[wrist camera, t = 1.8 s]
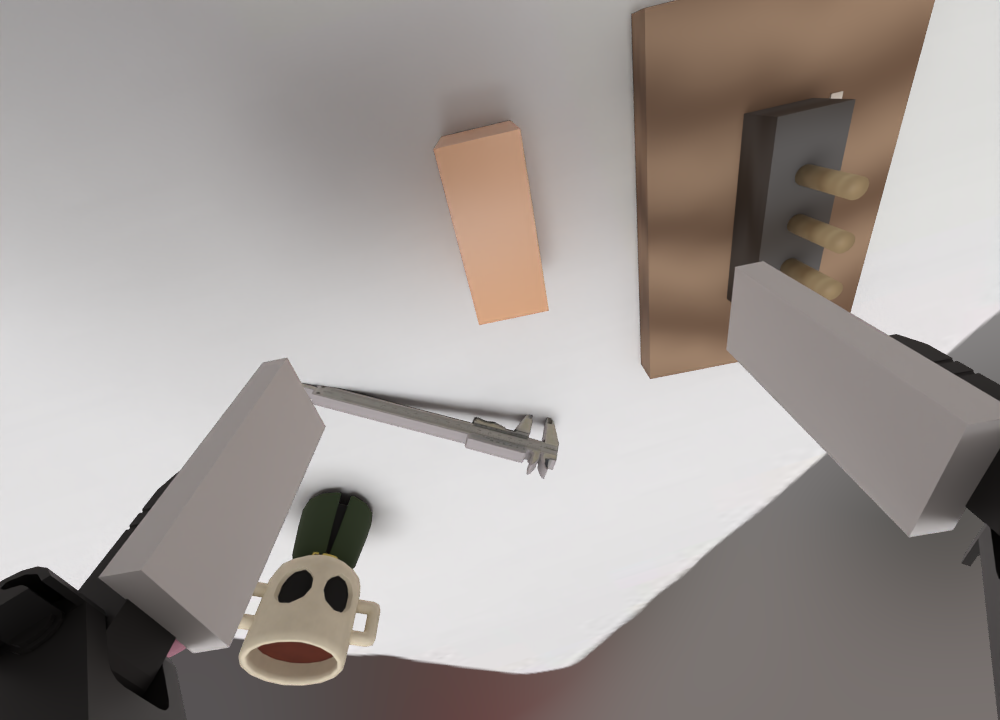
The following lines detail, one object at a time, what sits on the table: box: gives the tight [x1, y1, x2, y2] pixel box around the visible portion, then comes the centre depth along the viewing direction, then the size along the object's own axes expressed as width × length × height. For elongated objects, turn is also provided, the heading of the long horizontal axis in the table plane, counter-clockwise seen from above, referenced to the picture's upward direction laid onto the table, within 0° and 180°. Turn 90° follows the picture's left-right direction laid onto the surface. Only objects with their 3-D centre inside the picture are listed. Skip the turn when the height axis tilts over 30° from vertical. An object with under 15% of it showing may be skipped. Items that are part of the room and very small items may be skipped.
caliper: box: [302, 383, 559, 479], centre depth 32 cm, size 20×1×6 cm, turn 77°
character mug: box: [238, 492, 380, 685], centre depth 35 cm, size 11×7×13 cm, turn 66°
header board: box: [632, 0, 935, 379], centre depth 24 cm, size 22×14×8 cm, turn 11°
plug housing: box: [434, 120, 549, 325], centre depth 24 cm, size 9×4×6 cm, turn 11°
